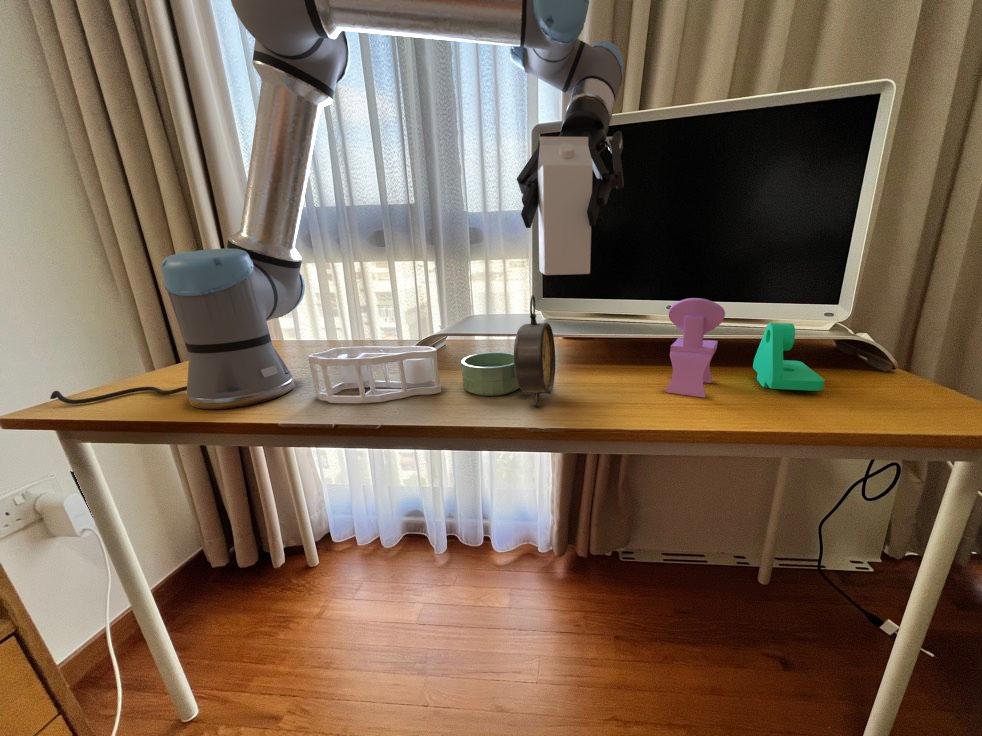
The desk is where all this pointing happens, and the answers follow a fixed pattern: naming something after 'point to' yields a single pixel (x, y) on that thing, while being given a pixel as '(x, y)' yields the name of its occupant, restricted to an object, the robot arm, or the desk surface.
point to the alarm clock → (534, 357)
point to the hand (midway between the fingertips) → (557, 220)
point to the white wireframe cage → (360, 373)
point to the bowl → (489, 373)
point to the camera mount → (782, 362)
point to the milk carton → (564, 205)
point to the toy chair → (693, 345)
